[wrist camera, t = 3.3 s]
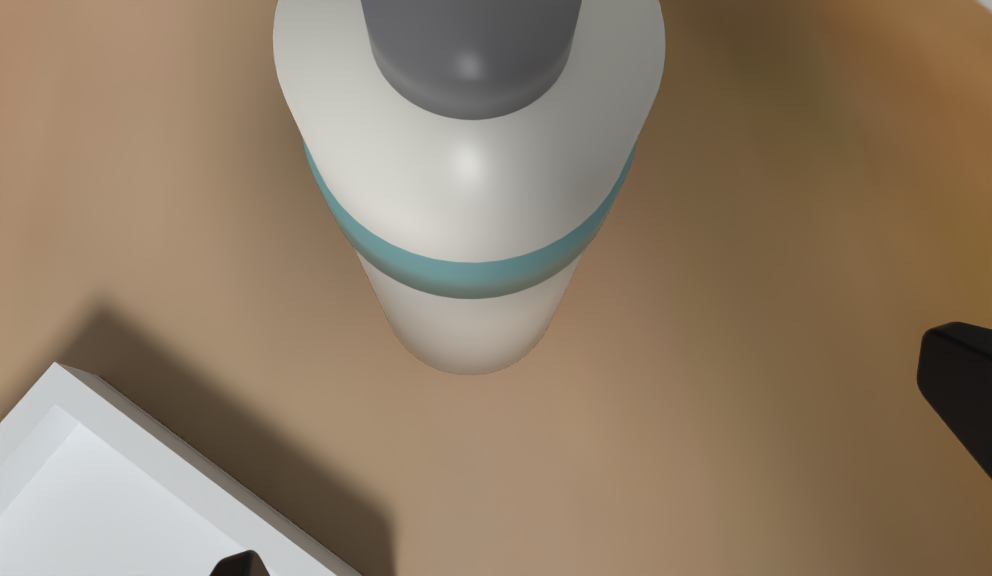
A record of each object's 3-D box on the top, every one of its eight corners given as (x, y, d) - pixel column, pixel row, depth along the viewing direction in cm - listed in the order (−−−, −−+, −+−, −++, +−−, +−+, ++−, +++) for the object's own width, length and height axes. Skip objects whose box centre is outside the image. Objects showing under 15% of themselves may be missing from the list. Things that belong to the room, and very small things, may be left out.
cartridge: (593, 268, 23) (773, -61, 9) (492, 415, 21) (534, 278, 8) (449, 174, 23) (422, -257, 10) (343, 310, 22) (146, 21, 9)
